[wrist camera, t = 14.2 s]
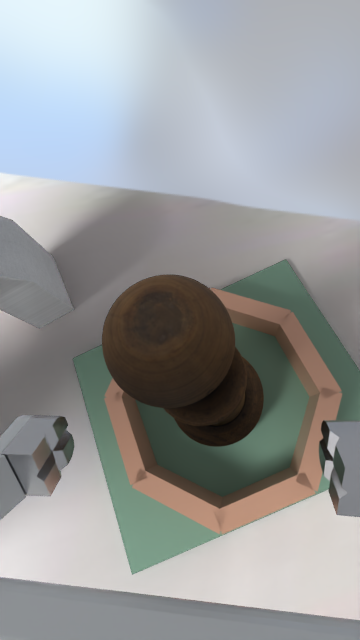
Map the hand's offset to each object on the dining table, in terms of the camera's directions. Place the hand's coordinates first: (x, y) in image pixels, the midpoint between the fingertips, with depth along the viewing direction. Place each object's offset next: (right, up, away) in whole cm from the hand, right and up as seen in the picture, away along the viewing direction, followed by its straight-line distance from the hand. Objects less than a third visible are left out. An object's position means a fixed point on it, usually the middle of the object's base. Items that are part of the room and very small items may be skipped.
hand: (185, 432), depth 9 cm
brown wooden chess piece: (+3, -2, +13) cm, 13 cm away
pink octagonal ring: (+3, -2, +13) cm, 14 cm away
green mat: (+3, -2, +13) cm, 14 cm away
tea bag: (-13, +6, +20) cm, 25 cm away
